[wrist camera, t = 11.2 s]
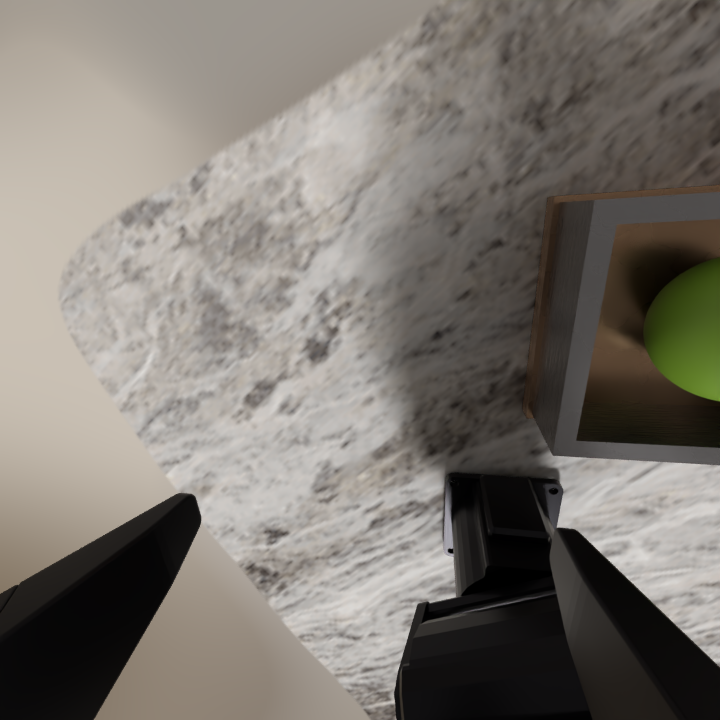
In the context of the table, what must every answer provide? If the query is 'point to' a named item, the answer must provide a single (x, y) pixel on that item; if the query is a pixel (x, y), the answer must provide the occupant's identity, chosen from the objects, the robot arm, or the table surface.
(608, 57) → the table surface
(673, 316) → the snail figurine
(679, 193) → the grey planter box
